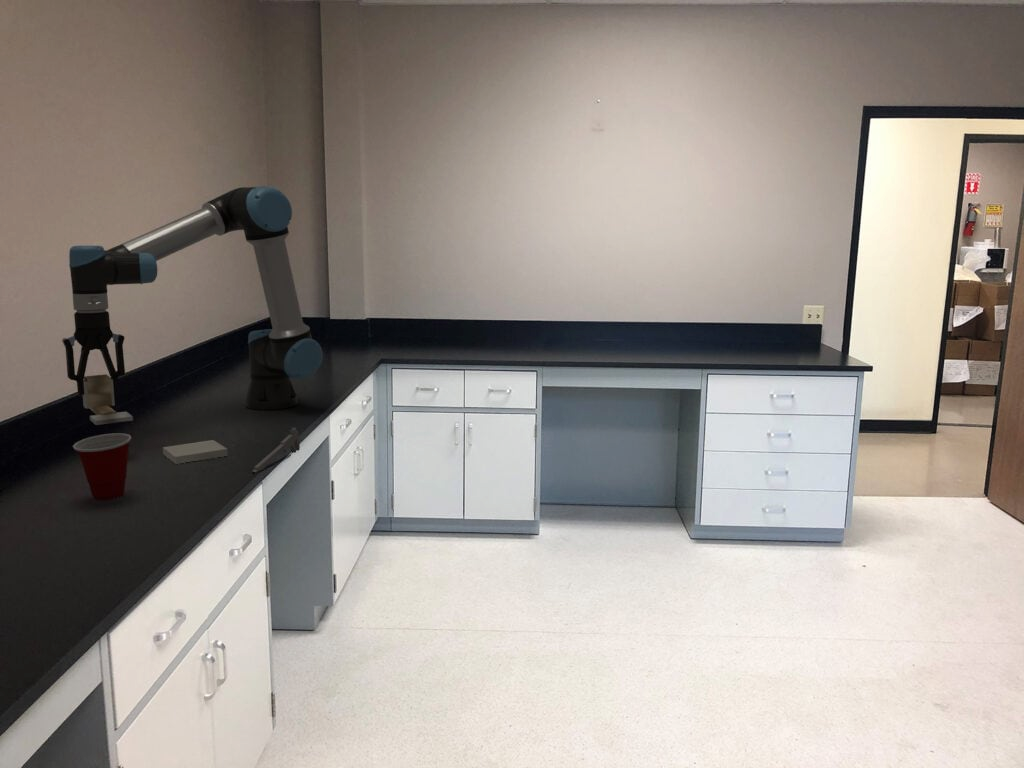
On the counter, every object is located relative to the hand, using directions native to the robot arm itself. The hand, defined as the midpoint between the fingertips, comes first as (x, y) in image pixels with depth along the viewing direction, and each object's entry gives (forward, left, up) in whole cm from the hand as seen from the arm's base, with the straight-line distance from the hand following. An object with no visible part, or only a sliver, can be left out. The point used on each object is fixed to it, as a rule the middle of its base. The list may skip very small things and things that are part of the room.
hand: (99, 405), depth 209 cm
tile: (-16, +15, -10) cm, 24 cm away
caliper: (-30, +36, -11) cm, 48 cm away
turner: (0, +3, -1) cm, 4 cm away
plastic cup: (+8, +40, -11) cm, 42 cm away
